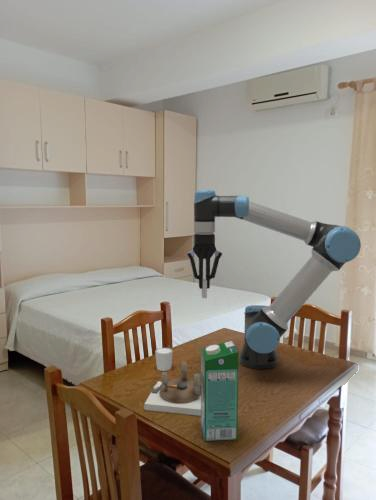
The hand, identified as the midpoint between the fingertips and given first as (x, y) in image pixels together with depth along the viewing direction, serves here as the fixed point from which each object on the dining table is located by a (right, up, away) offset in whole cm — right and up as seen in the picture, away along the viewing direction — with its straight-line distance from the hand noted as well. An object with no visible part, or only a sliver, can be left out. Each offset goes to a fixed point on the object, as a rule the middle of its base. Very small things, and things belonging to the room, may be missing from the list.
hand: (204, 297), depth 148 cm
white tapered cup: (-15, -29, +9) cm, 34 cm away
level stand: (-8, -32, -17) cm, 37 cm away
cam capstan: (-8, -29, -16) cm, 35 cm away
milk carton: (+3, -34, -34) cm, 48 cm away
